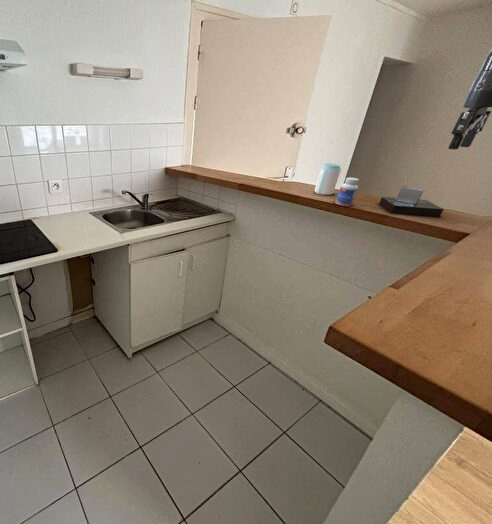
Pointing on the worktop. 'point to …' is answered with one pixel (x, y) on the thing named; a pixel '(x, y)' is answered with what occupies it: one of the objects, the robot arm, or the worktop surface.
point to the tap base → (411, 207)
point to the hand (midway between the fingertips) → (458, 148)
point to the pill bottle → (347, 192)
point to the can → (327, 179)
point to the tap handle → (409, 195)
